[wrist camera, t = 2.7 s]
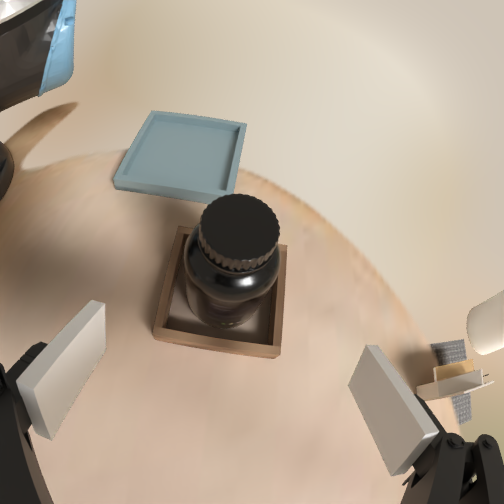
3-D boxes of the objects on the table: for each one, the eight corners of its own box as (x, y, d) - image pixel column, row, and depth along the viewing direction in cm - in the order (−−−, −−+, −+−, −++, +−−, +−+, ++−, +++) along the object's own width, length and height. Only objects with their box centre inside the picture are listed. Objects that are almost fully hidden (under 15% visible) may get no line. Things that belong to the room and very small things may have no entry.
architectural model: (412, 373, 27) (459, 359, 21) (451, 365, 28) (495, 349, 22) (414, 402, 26) (462, 394, 19) (454, 391, 27) (499, 380, 20)
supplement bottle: (182, 266, 28) (179, 181, 18) (251, 260, 30) (282, 178, 20) (190, 335, 25) (187, 282, 15) (265, 326, 27) (311, 269, 17)
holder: (155, 339, 24) (152, 334, 23) (179, 237, 30) (178, 226, 28) (273, 358, 26) (280, 354, 24) (281, 256, 31) (287, 245, 29)
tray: (115, 189, 31) (113, 178, 30) (152, 120, 38) (151, 110, 37) (230, 207, 33) (232, 197, 31) (244, 133, 40) (247, 123, 38)
